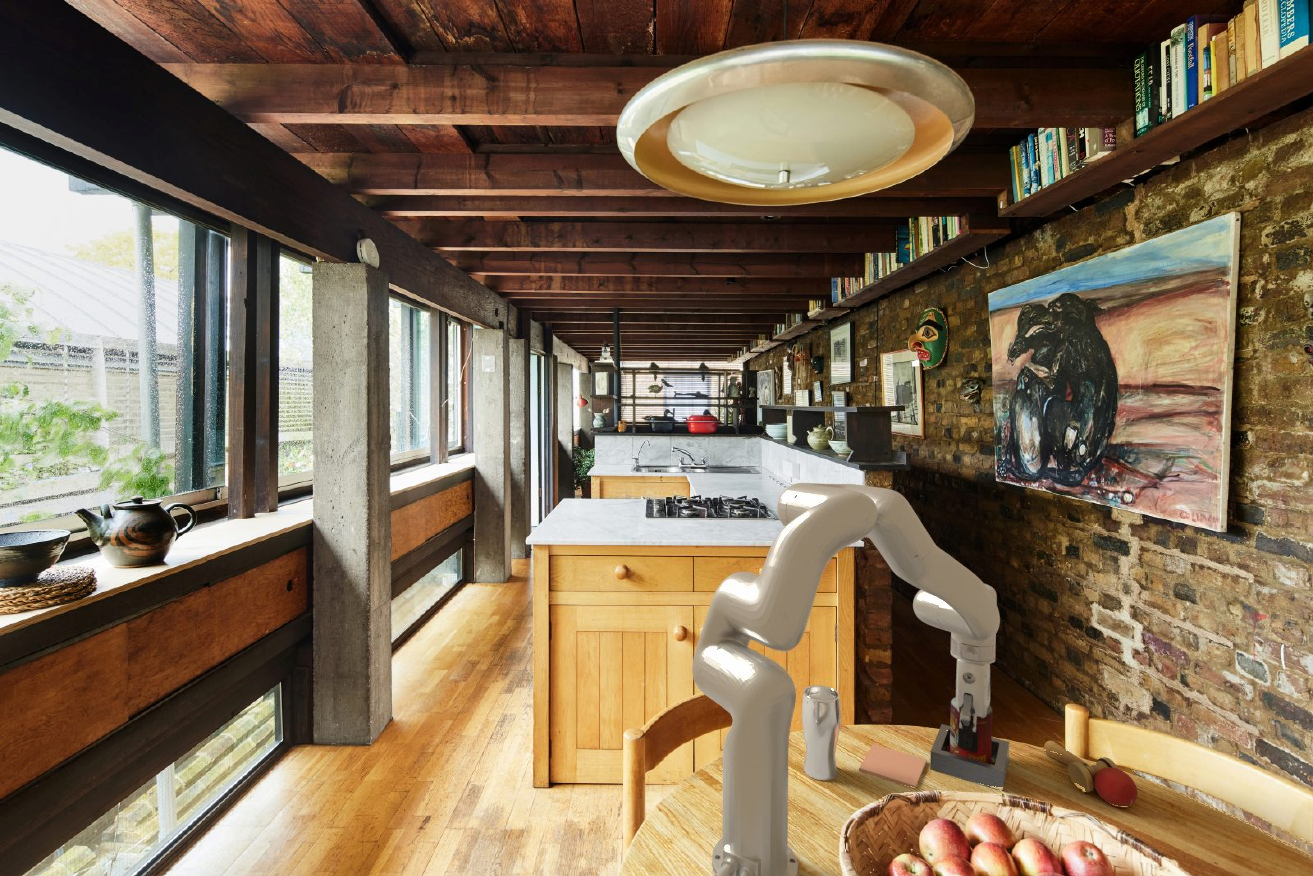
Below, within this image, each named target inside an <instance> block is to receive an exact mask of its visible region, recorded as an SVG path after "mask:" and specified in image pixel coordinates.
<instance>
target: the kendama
mask: <svg viewBox="0 0 1313 876" xmlns="http://www.w3.org/2000/svg"><path fill="white" fill-rule="evenodd" d="M1044 749H1046V751H1044ZM1066 750H1067V749H1066V748H1064V747H1063V746H1061V745H1060V744H1058V743H1057V742H1055V740H1054V741H1053V740H1048V741H1046V742H1045V743H1044V745H1043V751H1044V754H1045V755H1046V756H1048V757H1050V758H1051V759H1054V760H1056V761H1059V762H1061V763H1062V764H1065V765H1066V766H1067V773H1068V776H1069V778H1070V781H1071V782H1072V784H1073V783H1077V784H1079V785H1080V786H1082V787H1084V788H1085V791H1086V793H1090V791H1092V792H1093V791H1094V789H1095V791H1096V792H1097V794H1098V795H1099V797H1100V798H1101V799H1102V800H1103V799H1104V800H1105V801H1104V800H1103V801H1104V802H1106V801H1107V802H1109V803H1111V804H1114V805H1118V806H1130V805H1131V806H1133V805H1134V803H1135V802H1136V801H1137V798H1138V787H1137V785H1136V783H1135V781H1134V779H1133V778H1131V776H1130V775H1129V774H1127V773H1126V772H1125V771H1123V770H1121V769H1119V767H1118V766H1117V764H1116V763H1115V762H1114V760H1112V759H1110V758H1109V757H1099V758H1097V761H1096V764H1093V765H1091V766H1090V765H1089V764H1088V763H1086V762H1085V761H1083V760H1082V759H1081V758H1080V757H1079V756H1077V755H1075V754H1073V753H1072V752H1070V750H1067V751H1066ZM1050 751H1054V752H1057V753H1058V754H1057V753H1053V752H1050ZM1045 752H1046V753H1045ZM1060 754H1062V755H1060ZM1107 802H1106V803H1107ZM1109 803H1108V804H1109ZM1111 804H1110V805H1111ZM1131 806H1130V807H1131Z"/></svg>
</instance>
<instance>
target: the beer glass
mask: <svg viewBox="0 0 1313 876" xmlns="http://www.w3.org/2000/svg"><path fill="white" fill-rule="evenodd" d="M802 693H803V694H802V703H801V722H802V730H803V735H804V741H805V758H804V763H803V770H804V773H805V775H807V776H808V777H810V778H812V779H814V780H818V781H822V782H823V781H824V782H826V781H827V782H828V781H831V780H834V779H835V778H837V775H838V767H837V759H836V750H837V744H838V739H839V735H840V730H841V729H840V728H841V716H842V715H841V701H840V699H841V698H840V696H841V695H840V693H839V691H837V690H836V689H835V688H833V687H830V686H826V685H821V684H820V685H819V684H816V685H809V686H806V687H804V689H803V691H802Z"/></svg>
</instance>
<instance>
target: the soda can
mask: <svg viewBox="0 0 1313 876" xmlns="http://www.w3.org/2000/svg"><path fill="white" fill-rule="evenodd" d="M971 713H974V714H975V710H972V709H971ZM970 717H971V716H970ZM973 718H974V717H971V720H972V722H973ZM959 723H960V713H959V712H958V711H957V709H956V696H955V697H953V698H952V699H951V701H950V725H949V726H950V747H949V753H953V754H956V755H960V756H963V757H967V758H970V759H974V760H977V761H981V762H985V763H988V764H991V762H992V758H991V747H992V745H991V743H992V737H993V736H992V735H993V734H992V733H993V731H992V730H993V729H992V727H993V708H992V706H991V705H990V704H989V706H988V710H987V715H986V717H985V718H981V717H979V716H977V728H976V730H977V731H978V751H977V753H974V752H971V751H967V750H963V749H960V748H959V747H958V727H959Z"/></svg>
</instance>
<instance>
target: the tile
mask: <svg viewBox="0 0 1313 876" xmlns="http://www.w3.org/2000/svg"><path fill="white" fill-rule="evenodd" d="M927 762H928V760H927V759H926V758H923V757H919V756H916V755H913V754H910V753H905V752H902V751H899V750H894V749H892V748H889V747H885V746H881V745H878V744H874V743H872V745H871V747H870V748H869V750H868V752H867V754H866V755H865V757H864V759H863V760H862V762H861V764H860V766H859V768H858V772H861V773H863V774H866V775H870V776H873V777H877V778H878V779H883V780H886V781H888V782H891V783H894V784H897V783H898V785H900V784H902V785H901V786H903V785H906V786H905V787H907V786H912V787H916V786H917V787H918V785H917V783H918V782H920V780H921V778H922V775H923V773H924V771H925V768H926V765H927ZM918 784H919V783H918Z"/></svg>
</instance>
